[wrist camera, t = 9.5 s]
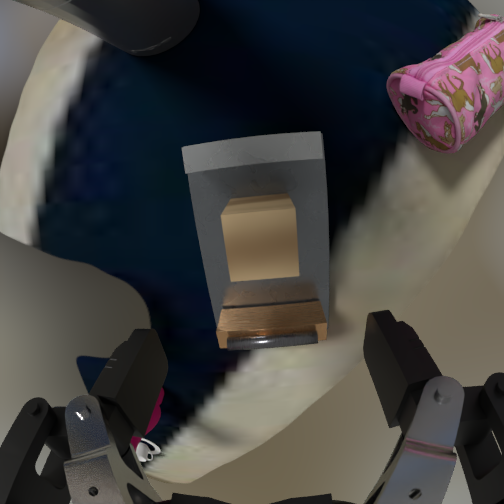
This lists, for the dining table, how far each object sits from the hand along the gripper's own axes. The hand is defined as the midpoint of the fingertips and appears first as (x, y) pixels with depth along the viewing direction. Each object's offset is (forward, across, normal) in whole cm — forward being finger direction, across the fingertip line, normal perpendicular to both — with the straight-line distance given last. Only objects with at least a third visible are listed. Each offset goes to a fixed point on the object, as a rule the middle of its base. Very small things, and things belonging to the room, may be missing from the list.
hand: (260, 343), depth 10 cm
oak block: (+16, 0, 0) cm, 16 cm away
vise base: (+18, 0, +3) cm, 18 cm away
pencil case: (+18, -22, -14) cm, 32 cm away
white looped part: (+18, +30, +42) cm, 55 cm away
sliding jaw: (+16, 0, +10) cm, 19 cm away
